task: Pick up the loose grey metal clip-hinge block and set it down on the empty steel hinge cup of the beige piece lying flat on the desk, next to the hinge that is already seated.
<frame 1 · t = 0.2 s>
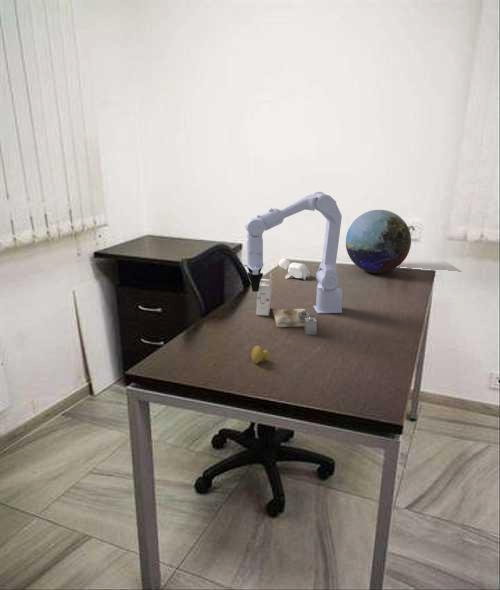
hand: (255, 288, 171), 10 cm above the table, fingers open, 7 cm apart
knob: (259, 362, 137), on the table
ink cartridge box: (263, 312, 175), on the table, touching gripper
white rounded lump: (293, 277, 218), on the table
hinge block: (310, 332, 157), on the table
decorative globe: (375, 272, 226), on the table
beige piece: (291, 319, 168), on the table
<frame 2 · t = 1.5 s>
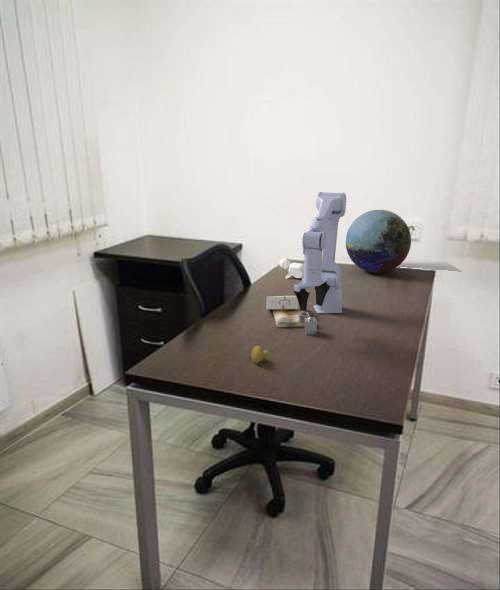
hand: (311, 307, 154), 9 cm above the table, fingers open, 7 cm apart
ink cartridge box: (266, 302, 175), point 4 cm above the table, touching beige piece
everything else where it was.
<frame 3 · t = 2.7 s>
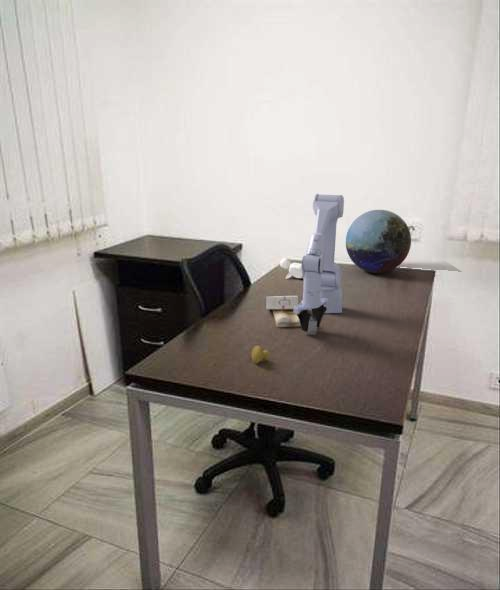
hand: (310, 328, 156), 1 cm above the table, fingers closed on hinge block, 5 cm apart
hinge block: (310, 332, 157), on the table, touching gripper
everything else where it was.
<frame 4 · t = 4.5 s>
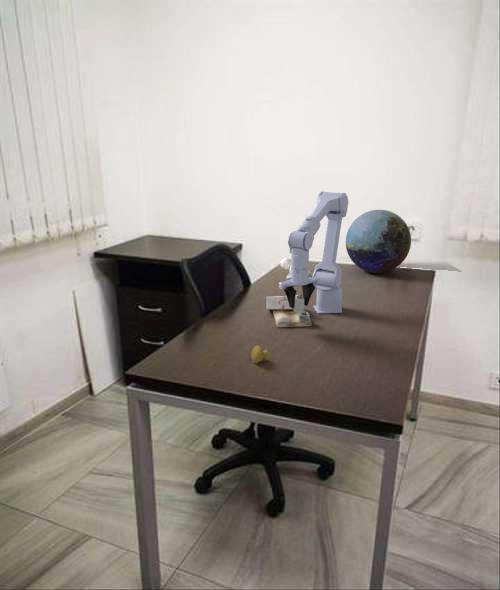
hand: (298, 306, 157), 8 cm above the table, fingers closed on hinge block, 5 cm apart
hinge block: (298, 310, 157), point 7 cm above the table, touching gripper
everything else where it was.
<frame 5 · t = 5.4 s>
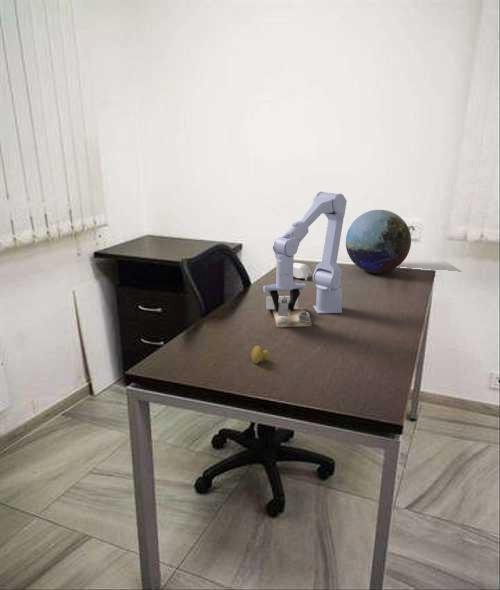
hand: (284, 310, 161), 6 cm above the table, fingers closed on hinge block, 5 cm apart
hinge block: (284, 314, 161), point 4 cm above the table, touching gripper
everything else where it was.
when the fingers open (4 cm above the table, at t = 6.2 s): hinge block stays where it is, resting on beige piece.
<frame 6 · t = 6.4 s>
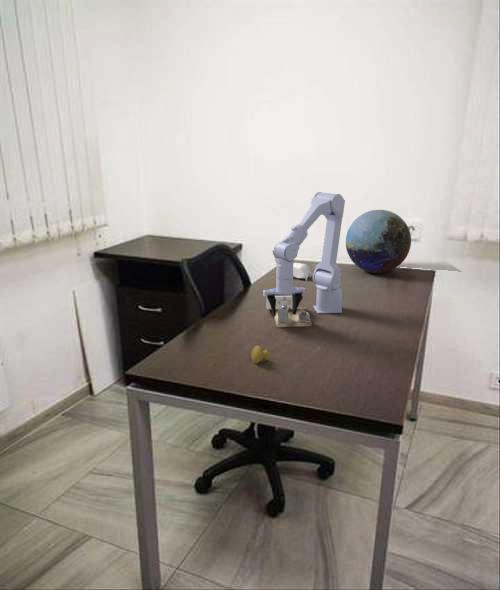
hand: (284, 314, 162), 4 cm above the table, fingers open, 7 cm apart
hinge block: (284, 320, 162), point 2 cm above the table, touching beige piece
everything else where it was.
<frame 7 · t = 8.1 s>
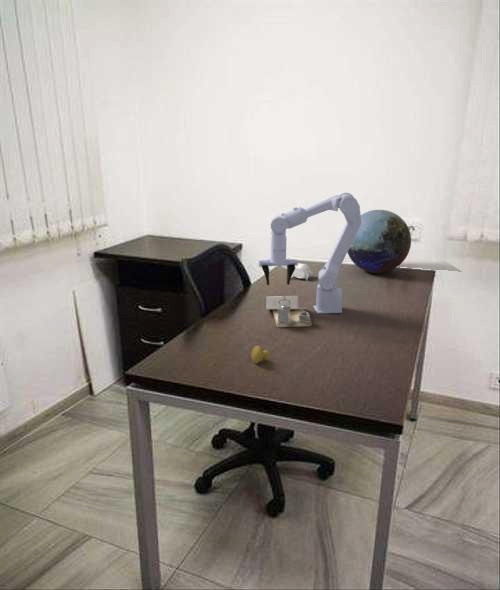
hand: (277, 284, 175), 10 cm above the table, fingers open, 7 cm apart
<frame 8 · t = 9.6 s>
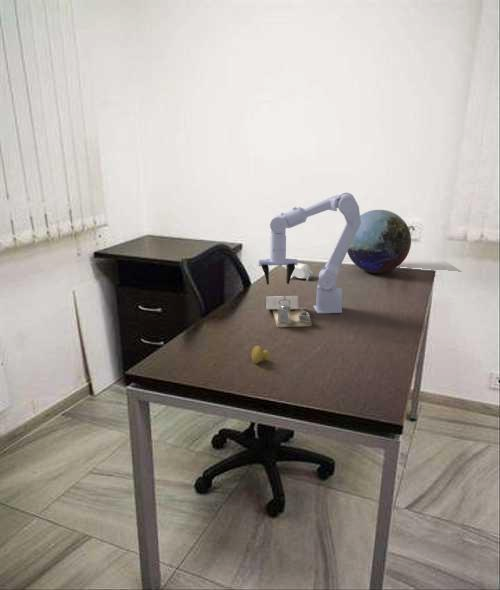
hand: (277, 283, 176), 10 cm above the table, fingers open, 7 cm apart
at the end: hinge block 0.2 cm from the target spot on the beige piece, point 1.9 cm above the beige piece's base; hinge block touching beige piece; the gripper is holding nothing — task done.
